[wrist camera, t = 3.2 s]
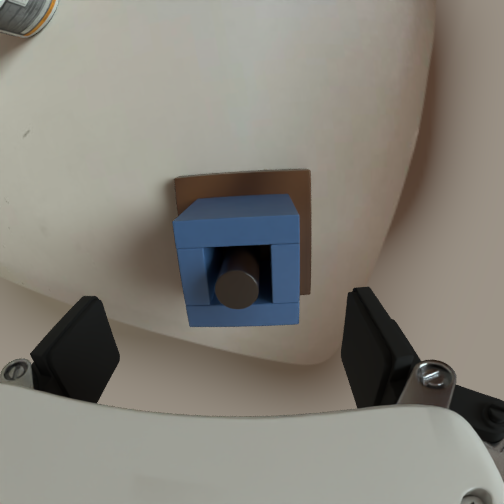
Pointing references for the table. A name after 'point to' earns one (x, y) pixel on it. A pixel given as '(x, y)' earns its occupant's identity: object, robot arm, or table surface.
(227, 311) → the blue block
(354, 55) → the table surface
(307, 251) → the dowel stand
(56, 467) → the robot arm
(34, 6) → the pill bottle
